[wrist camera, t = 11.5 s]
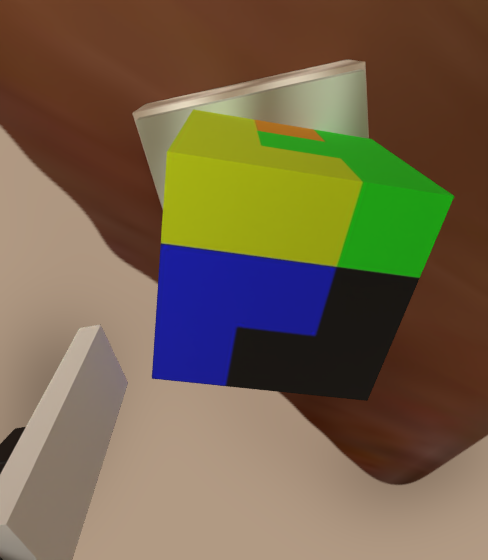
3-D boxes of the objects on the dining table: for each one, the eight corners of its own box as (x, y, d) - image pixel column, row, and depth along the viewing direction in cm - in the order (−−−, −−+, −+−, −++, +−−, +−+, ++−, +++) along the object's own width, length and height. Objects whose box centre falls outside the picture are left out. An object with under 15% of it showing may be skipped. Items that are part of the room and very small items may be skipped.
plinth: (347, 59, 26) (370, 62, 21) (359, 246, 32) (379, 277, 28) (145, 103, 27) (128, 115, 22) (196, 276, 33) (190, 311, 29)
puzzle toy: (178, 271, 27) (152, 378, 18) (193, 109, 22) (166, 151, 13) (325, 290, 28) (367, 400, 19) (371, 139, 23) (454, 196, 14)
